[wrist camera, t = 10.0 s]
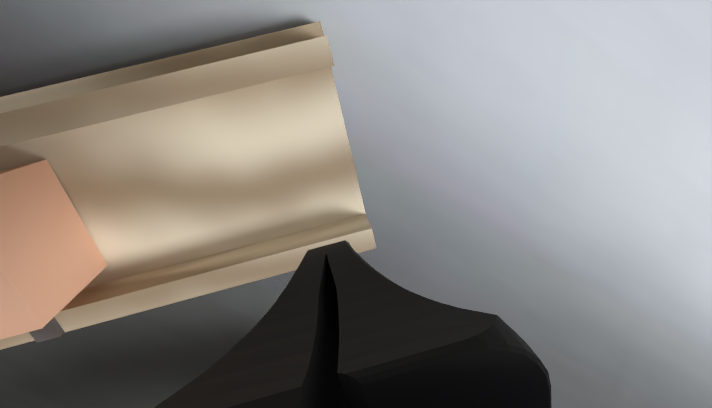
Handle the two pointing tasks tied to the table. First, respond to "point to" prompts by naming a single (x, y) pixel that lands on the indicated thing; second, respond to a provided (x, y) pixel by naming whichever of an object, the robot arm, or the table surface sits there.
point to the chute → (194, 170)
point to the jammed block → (40, 249)
